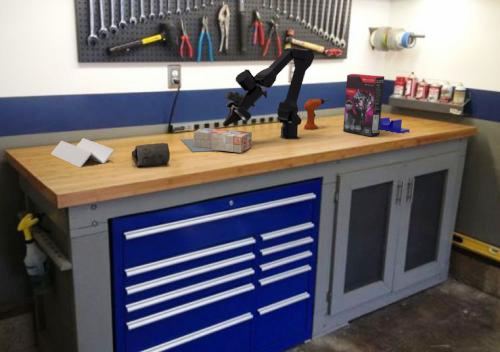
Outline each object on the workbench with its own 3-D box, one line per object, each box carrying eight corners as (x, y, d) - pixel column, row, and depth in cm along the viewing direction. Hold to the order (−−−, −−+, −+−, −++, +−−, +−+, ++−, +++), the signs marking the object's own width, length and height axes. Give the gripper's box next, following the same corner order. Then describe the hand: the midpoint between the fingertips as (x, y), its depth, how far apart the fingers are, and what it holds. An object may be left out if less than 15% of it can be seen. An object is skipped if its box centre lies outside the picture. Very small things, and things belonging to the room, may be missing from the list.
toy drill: (333, 123, 261) (333, 93, 256) (309, 132, 249) (308, 101, 244) (325, 122, 264) (325, 93, 259) (301, 130, 252) (300, 100, 247)
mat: (213, 138, 223) (213, 138, 223) (228, 150, 201) (228, 149, 201) (180, 140, 219) (180, 139, 219) (192, 152, 197) (192, 151, 197)
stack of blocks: (203, 142, 214) (189, 147, 203) (203, 127, 212) (189, 132, 201) (251, 147, 207) (240, 153, 196) (252, 131, 205) (241, 136, 194)
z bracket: (92, 178, 175) (79, 167, 171) (63, 163, 193) (50, 153, 189) (114, 150, 179) (102, 139, 175) (83, 138, 197) (71, 128, 193)
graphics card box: (341, 131, 247) (345, 73, 240) (350, 130, 251) (355, 73, 244) (371, 137, 234) (376, 76, 227) (380, 135, 239) (385, 76, 232)
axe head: (179, 141, 175) (135, 146, 170) (182, 163, 176) (138, 169, 171) (166, 137, 199) (127, 141, 195) (168, 156, 201) (129, 161, 196)
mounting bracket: (409, 133, 250) (410, 120, 248) (400, 134, 245) (401, 121, 244) (378, 127, 263) (379, 115, 262) (369, 128, 259) (370, 116, 257)
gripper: (230, 81, 216) (204, 108, 216) (244, 86, 199) (216, 115, 198) (248, 100, 221) (222, 126, 220) (262, 106, 204) (235, 134, 203)
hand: (223, 125), depth 210 cm, fingers closed
